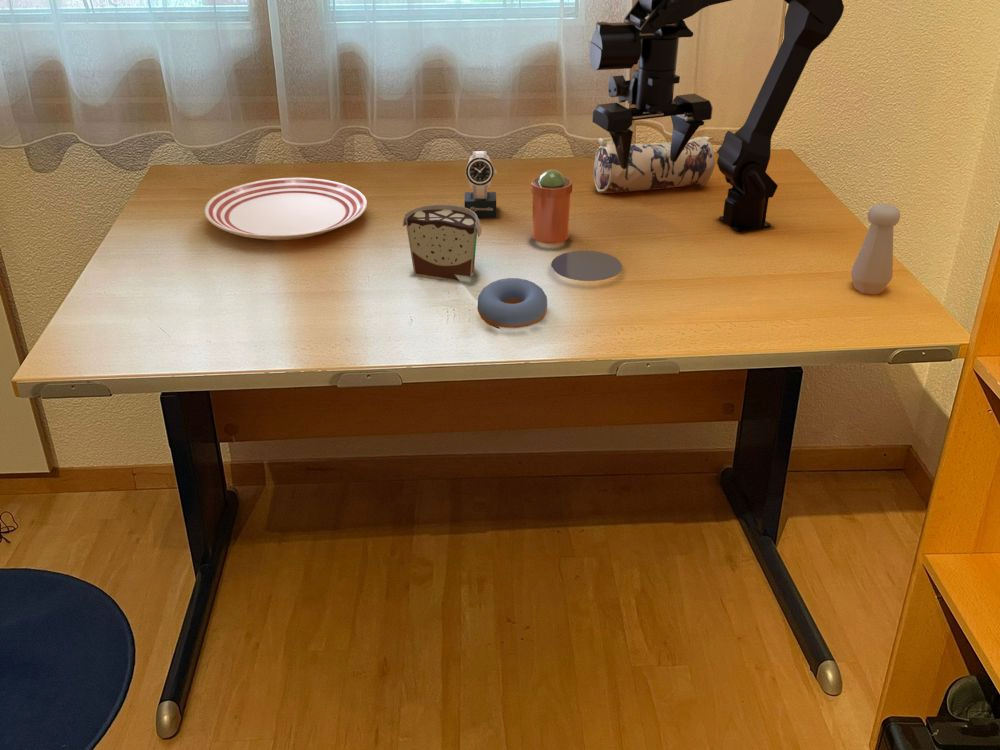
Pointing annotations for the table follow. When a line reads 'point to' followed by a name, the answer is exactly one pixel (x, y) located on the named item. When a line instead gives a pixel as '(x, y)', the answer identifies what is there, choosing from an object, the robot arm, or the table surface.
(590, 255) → the saucer
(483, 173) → the watch
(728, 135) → the robot arm
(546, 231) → the plant pot
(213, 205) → the dinner plate
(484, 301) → the doughnut
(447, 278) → the food container
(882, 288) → the salt shaker
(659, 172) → the pencil case
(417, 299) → the table surface
